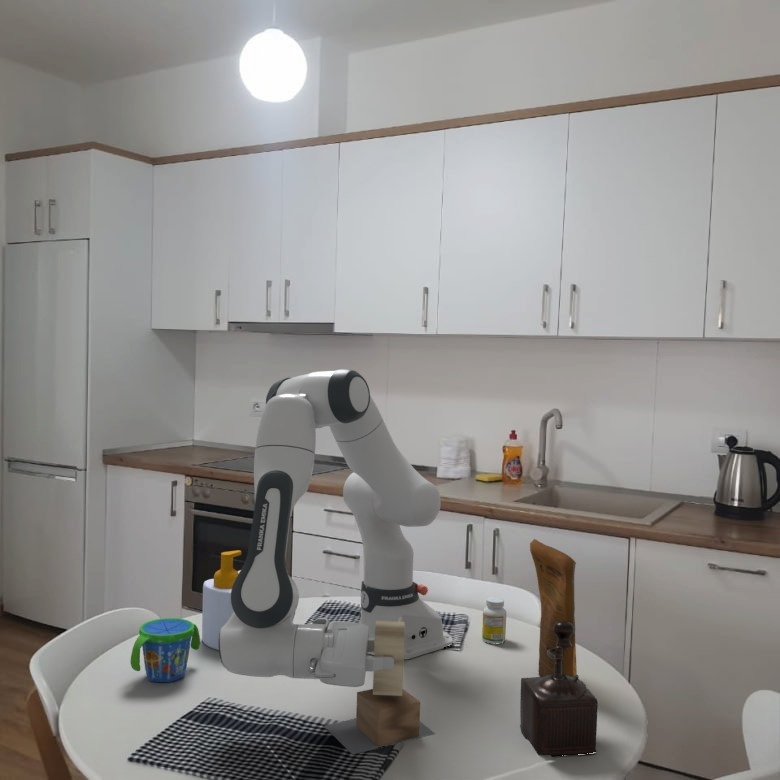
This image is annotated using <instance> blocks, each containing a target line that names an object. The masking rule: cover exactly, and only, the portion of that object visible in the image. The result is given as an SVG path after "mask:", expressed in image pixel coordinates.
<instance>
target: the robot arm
mask: <svg viewBox="0 0 780 780" xmlns="http://www.w3.org/2000/svg"><path fill="white" fill-rule="evenodd" d="M261 414H262V415H261V418H260V421H259V426H258V429H257V430H258V431H257V435H256V440H255V448H254V458H253V485H254V486H253V487H254V507H253V516H252V522H251V523H252V524H251V529H250V537H249V543H248V550H247V554H246V559H245V561H244V564H243V566H242V567H241V569H240V570H241V571H240V570H239V571H240V572H239V574H238V576H237V578H236V580H235V582H234V584H233V587H232V590H231V604H232V608H233V610H234V612H233V614H232V616H231V617H230V619H229V620H228V621H227V623H226V624H225V625H224V626H223V627H222V628H221V630H220V633H219V641H218V646H219V650H218V654H219V658H220V661H221V665H222V666H223V667H224V669H226V670H227V672H229V673H232V674H235V675H240V676H246V677H254V678H255V677H256V678H257V677H258V678H273V677H277V676H284V677H288V678H290V679H304V680H305V679H306V680H307V679H308V680H319V681H320V682H321V683H323V684H326V685H329V686H330V685H331V686H337V687H338V686H339V687H349V688H358V687H362V686H364V685H365V682H366V673H367V672H372V673H373V672H374V671H377V670H380V669H392V668H393V667H394V657H393V656H392V655H384V656H383V657H374V644H375V624H376V621H398V622H404V626H405V636H404V660H409V659H414V658H416V657H419V656H422V655H426V654H429V653H433V652H436V651H438V650H439V651H440V650H442V649H444V647H446V646H448V645H449V644H452V643H453V644H454V641H453V637H452V636H451V635H450V634H449V633H448V632H447V631H445V630H444V627H443V626H444V625H443V620H442V617H441V616H440V614H439V612H438V611H436V610H435V609H433V608H432V607H431V606H430V605H428V603H426V602H425V601H424V600H423V599H421V598H420V595H422V596H426V595H427V594H428V592H429V588H428V587H427V586H426V585H424V584H418V583H416V582H415V581H413V580H414V579H413V577H414V550H413V546H412V545H411V543H410V542H409V540H407V538H406V537H405V534H403V533H404V532H402V529H401V526H403V527H407V528H410V527H412V528H413V527H415V528H418V527H427V526H429V525H431V524H432V523H433V522H434V521H435V520H436V519H437V517H438V515H439V513H440V511H441V506H442V505H441V503H442V501H441V494H440V491H439V489H438V487H437V486H436V485H435V484H433V483H432V482H431V481H429V480H428V479H427V478H425V477H423V476H422V474H420V473H419V471H417V470H416V469H415V468H414V467H413V466H412V464H411V463H410V462H409V461H408V460H407V458H406V457H405V456H404V455H403V453H402V452H401V451H400V449H399V448H398V446H397V445H396V443H395V442H394V439H393V438H392V435H391V433H390V432H389V431H390V430H389V429H388V427H387V425H386V423H385V421H384V419H383V416H382V414H381V413H380V410H379V408H378V406H377V405H376V403H375V401H374V399H373V397H372V395H371V393H370V388H369V385H368V383H367V381H366V379H365V378H364V377H363V376H362V375H361V374H360V373H359V372H357V371H356V370H353V369H347V368H338V369H336V370H319V371H312V372H309V373H305V374H301V375H297V376H294V377H285V378H282V379H281V380H278V381H276V382H275V383H273V384H272V385H271V387H270V388H269V389H268V392H267V394H266V397H265V406H264V408H263V411H262V413H261ZM325 427H329V429H330V432H331V434H332V436H333V437H334V440H335V443H336V444H337V446H338V449H339V450H340V452H341V455H342V457H343V459H344V461H345V462H346V465H347V466H348V468H349V469H350V470H351V471H352V473H350V474H349V475H348V477H347V478H346V479H345V482H344V485H343V487H342V488H343V489H342V497H343V501H344V503H345V505H346V507H347V508H348V509H349V510H350V512H351V513H352V515H353V517H354V519H355V521H356V523H357V527H358V531H359V533H360V538H361V542H362V548H363V580H362V581H361V586H360V588H361V589H360V608H361V613H360V619H359V622H353V621H342V620H341V621H340V620H337V621H336V620H334V621H329V618H327V617H318V618H316V619H315V620H313V621H311V622H310V623H306V624H297V623H296V624H295V623H294V618H295V615H296V610H297V608H298V606H299V602H300V593H299V588H298V585H297V583H296V581H295V580H294V579H293V578H292V576H290V575H289V574H288V573H289V572H288V573H287V571H288V570H287V567H286V565H287V564H286V563H287V562H286V559H287V558H286V557H287V549H288V548H287V547H288V542H289V541H288V540H289V531H290V524H291V518H292V517H291V516H292V514H293V510H294V508H295V506H296V504H297V503H298V501H299V500H300V499H301V498H302V497H303V496H304V495H305V494H306V493H307V492H308V489H309V488H310V483H311V480H312V476H313V472H314V466H315V457H316V444H317V443H316V440H317V439H316V437H317V435H316V433H317V432H316V429H322V428H325ZM419 594H420V595H419ZM446 648H447V647H446Z"/></svg>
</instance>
